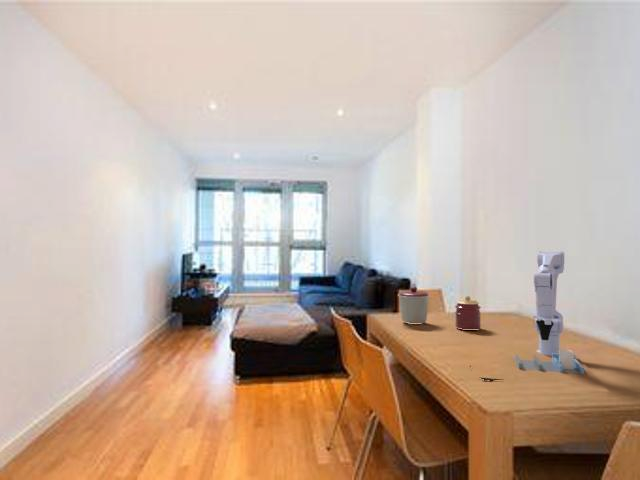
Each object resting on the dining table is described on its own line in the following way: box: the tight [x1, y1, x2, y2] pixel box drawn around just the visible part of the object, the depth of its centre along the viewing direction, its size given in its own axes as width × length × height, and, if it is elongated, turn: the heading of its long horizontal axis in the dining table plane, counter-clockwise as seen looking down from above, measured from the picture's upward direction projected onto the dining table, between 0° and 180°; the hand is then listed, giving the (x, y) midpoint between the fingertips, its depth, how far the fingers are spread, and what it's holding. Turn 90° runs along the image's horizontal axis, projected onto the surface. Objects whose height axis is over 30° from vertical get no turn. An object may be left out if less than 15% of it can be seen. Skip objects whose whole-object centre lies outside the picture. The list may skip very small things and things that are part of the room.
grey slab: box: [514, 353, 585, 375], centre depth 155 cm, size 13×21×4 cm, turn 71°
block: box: [559, 349, 575, 370], centre depth 153 cm, size 4×4×6 cm
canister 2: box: [454, 295, 482, 330], centre depth 223 cm, size 13×13×18 cm
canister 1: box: [397, 286, 431, 324], centre depth 239 cm, size 18×18×21 cm
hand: (544, 339), depth 160 cm, fingers closed
